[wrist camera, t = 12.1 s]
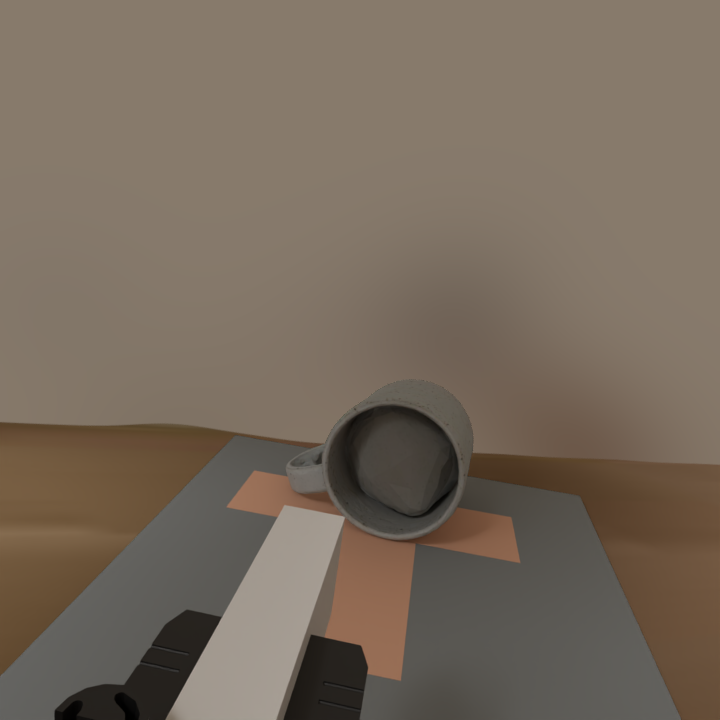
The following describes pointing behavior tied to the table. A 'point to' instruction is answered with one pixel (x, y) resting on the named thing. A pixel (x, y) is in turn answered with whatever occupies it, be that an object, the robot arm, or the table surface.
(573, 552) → the t mat
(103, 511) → the table surface
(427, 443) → the ceramic mug
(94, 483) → the table surface
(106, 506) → the table surface
